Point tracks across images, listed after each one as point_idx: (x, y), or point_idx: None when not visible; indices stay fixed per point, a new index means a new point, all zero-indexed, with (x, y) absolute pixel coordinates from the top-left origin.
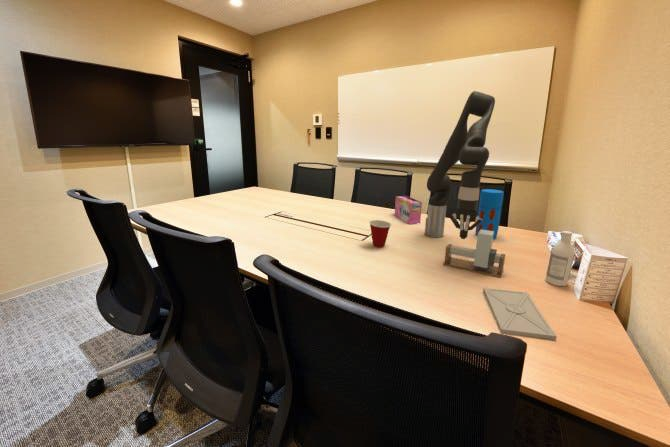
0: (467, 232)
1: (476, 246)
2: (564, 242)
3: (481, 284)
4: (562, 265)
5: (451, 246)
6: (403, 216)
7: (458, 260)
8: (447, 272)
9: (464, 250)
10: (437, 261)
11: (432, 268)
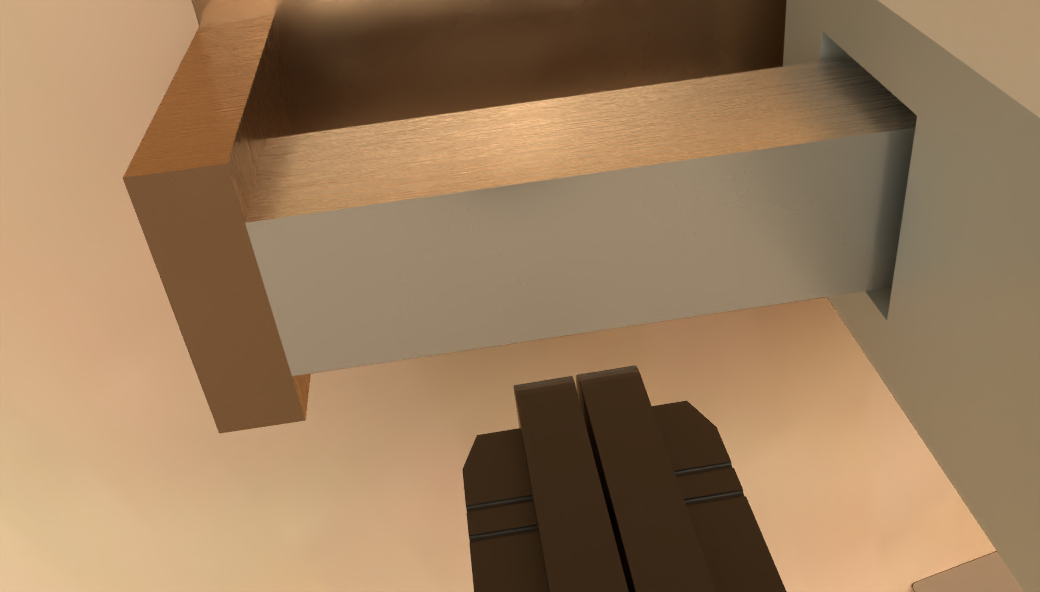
0: (760, 580)
1: (955, 476)
2: None
3: (890, 469)
4: None
5: (290, 323)
6: None
7: (432, 4)
8: (458, 451)
9: (624, 317)
10: (127, 214)
11: (240, 471)
